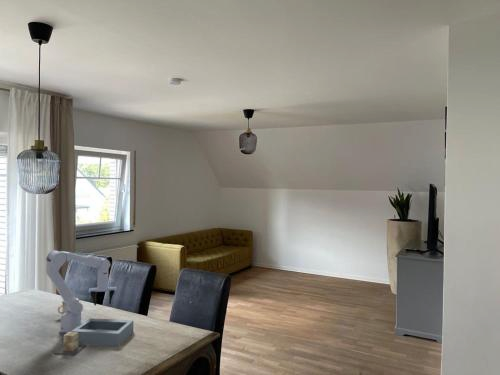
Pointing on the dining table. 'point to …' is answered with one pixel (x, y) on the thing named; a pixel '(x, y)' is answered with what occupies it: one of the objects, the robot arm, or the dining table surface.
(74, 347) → the birch post
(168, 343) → the dining table surface
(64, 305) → the teacup with lid
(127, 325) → the box
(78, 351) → the mat
